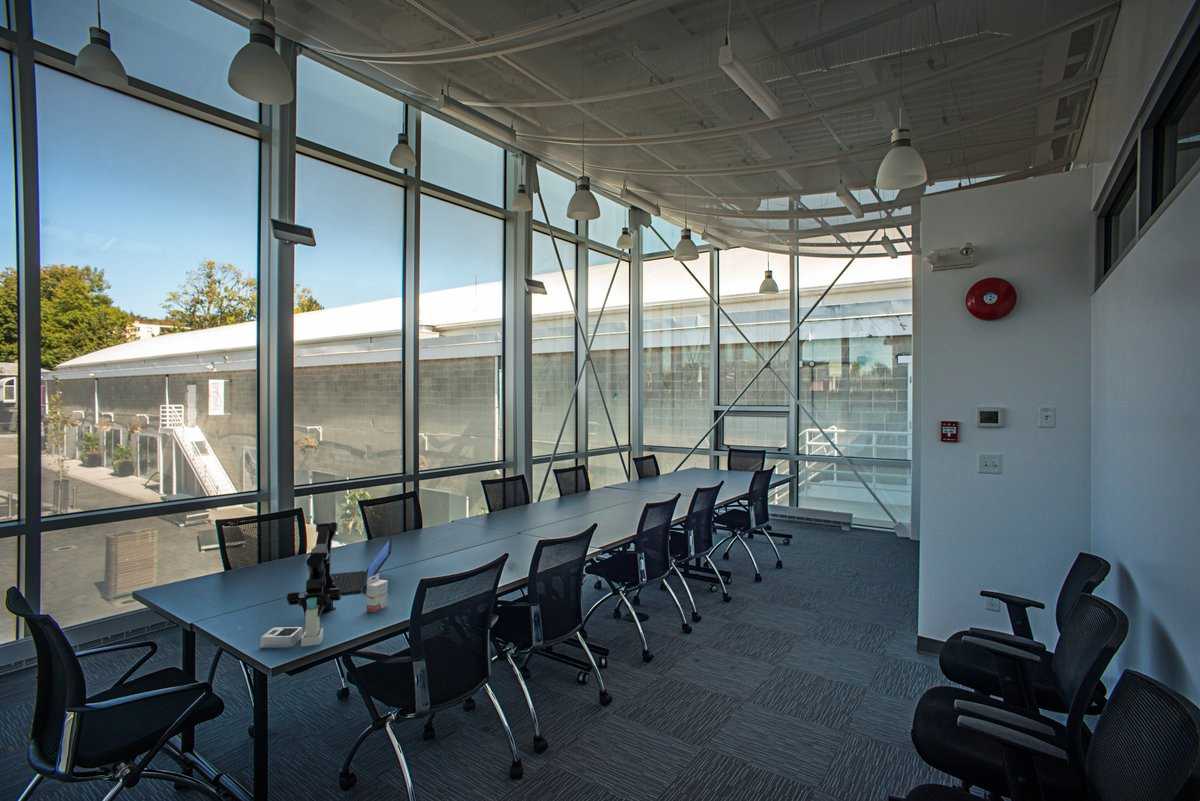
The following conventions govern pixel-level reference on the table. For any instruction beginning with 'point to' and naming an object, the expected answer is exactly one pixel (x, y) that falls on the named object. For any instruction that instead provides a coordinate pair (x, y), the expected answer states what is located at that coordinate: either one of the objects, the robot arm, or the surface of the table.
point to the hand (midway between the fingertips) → (312, 617)
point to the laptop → (361, 573)
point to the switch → (281, 637)
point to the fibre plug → (312, 618)
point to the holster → (312, 639)
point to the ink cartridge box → (376, 593)
